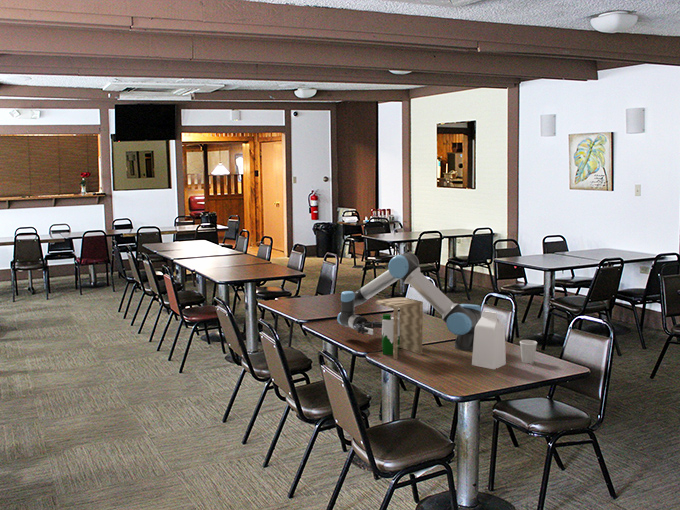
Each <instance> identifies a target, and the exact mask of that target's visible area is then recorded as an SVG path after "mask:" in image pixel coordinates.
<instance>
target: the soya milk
mask: <svg viewBox="0 0 680 510" xmlns="http://www.w3.org/2000/svg"><path fill="white" fill-rule="evenodd" d="M381 319H382V320H381V322H382V328H381V349H382V355H383V356H384V355H386V356H393V319H394V316H392V317H391V314H388V313H384V314H382V318H381ZM399 349H400V317H398V349H397V354H399Z"/></svg>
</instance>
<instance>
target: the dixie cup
mask: <svg viewBox="0 0 680 510" xmlns="http://www.w3.org/2000/svg"><path fill="white" fill-rule="evenodd" d="M519 345H520V355H521V362H522V363H524V364H528V363H530V364H534V363H535V356H536V352H537V345H538V342H537V341H536V340H530V339H522V340H519Z"/></svg>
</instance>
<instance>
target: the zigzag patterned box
mask: <svg viewBox="0 0 680 510" xmlns="http://www.w3.org/2000/svg"><path fill="white" fill-rule="evenodd" d="M374 303H375V305H379V306H382V307H385V308H386V307H387V308H390V309H393V317H394V319H393V355H392V359H394V360H397V359H398V353H397V349H398V318H399V322H400V345H399V349H400V348H401V349H404V350H406V351H408V352H412V353H415V354H419V355H422V354H423V325H424V324H423V320H424V319H423V316H424V315H423V313H424V312H423V311H424V308H423V307H424V306H423V305H424V302H423V301H422V300H417V299H412V298H409V297H403V296H400V297H392V298H386V299H385V298H384V299H378V300H375V301H374Z"/></svg>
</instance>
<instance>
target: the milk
mask: <svg viewBox="0 0 680 510" xmlns="http://www.w3.org/2000/svg"><path fill="white" fill-rule="evenodd" d="M506 357H507V355H506V328H505V325H504V323H503V322H502V321H501V319H500V318H499V317H498V313H497V312H496V311H489V310H484V311H483V313H482V314H481V318H480V320H479V321H478V323H477V324H476V326H475V330H474V343H473V351H472V357H471V366H475V367H481V368H485V369H490V370H496V368H497V369H499V368H500V367H503V366H506V363H507V359H506Z"/></svg>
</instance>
